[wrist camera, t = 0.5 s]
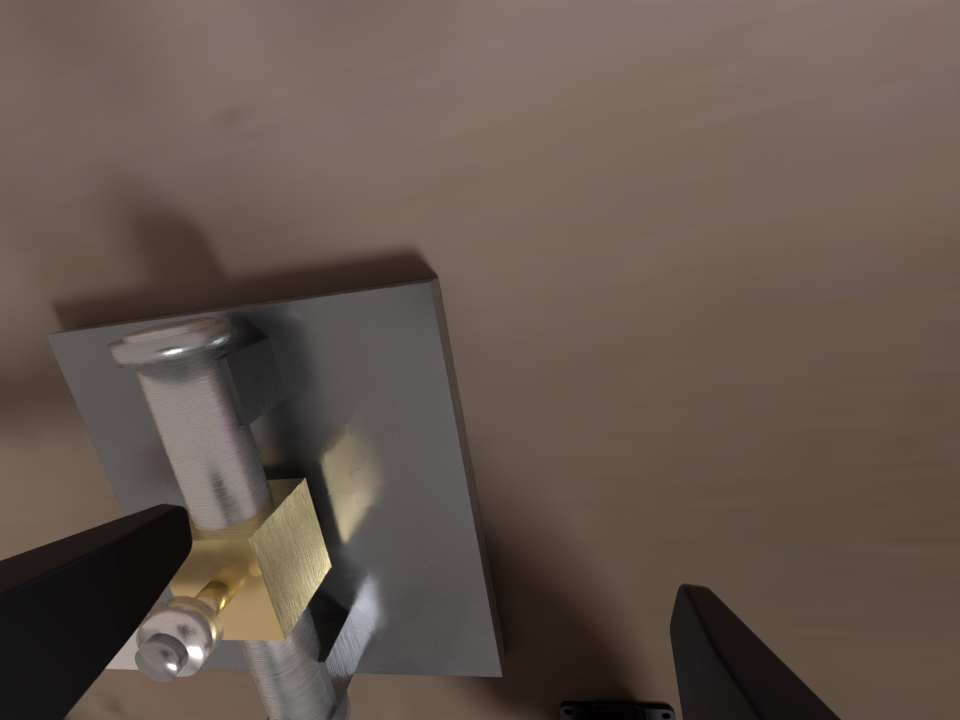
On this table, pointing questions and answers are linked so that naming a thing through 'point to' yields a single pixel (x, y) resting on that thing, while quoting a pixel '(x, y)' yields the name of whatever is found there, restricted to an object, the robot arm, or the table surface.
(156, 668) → the lever
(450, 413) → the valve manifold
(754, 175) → the table surface
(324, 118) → the table surface
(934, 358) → the table surface
